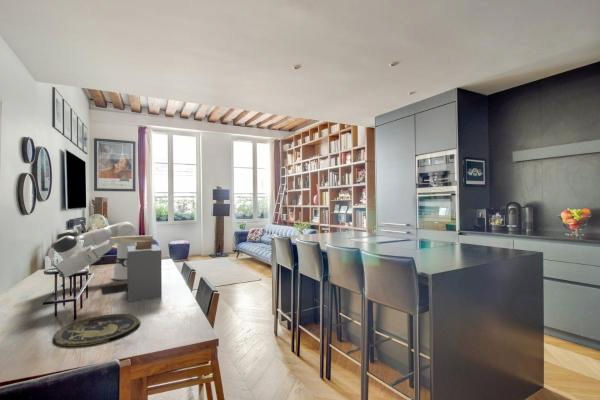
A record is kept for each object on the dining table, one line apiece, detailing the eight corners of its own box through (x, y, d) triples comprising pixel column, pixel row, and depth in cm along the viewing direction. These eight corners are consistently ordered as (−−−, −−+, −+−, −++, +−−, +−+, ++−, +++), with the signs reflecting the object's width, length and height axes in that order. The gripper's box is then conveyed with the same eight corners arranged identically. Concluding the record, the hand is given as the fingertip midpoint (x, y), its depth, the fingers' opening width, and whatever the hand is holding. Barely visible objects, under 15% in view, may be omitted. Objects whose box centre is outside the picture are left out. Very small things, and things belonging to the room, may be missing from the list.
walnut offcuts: (135, 248, 180) (135, 241, 180) (151, 246, 184) (151, 240, 184) (135, 249, 175) (135, 242, 175) (152, 248, 179) (152, 241, 179)
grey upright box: (127, 289, 187) (127, 246, 188) (156, 285, 195) (156, 244, 196) (128, 302, 163) (128, 252, 163) (161, 297, 171) (161, 250, 171)
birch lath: (111, 242, 167) (111, 237, 167) (152, 240, 177) (152, 235, 177) (110, 243, 164) (110, 237, 164) (152, 241, 174) (152, 235, 174)
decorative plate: (71, 317, 137) (146, 310, 146) (72, 322, 137) (146, 314, 146) (36, 349, 109) (131, 337, 117) (36, 354, 109) (131, 342, 117)
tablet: (148, 280, 209) (153, 286, 192) (148, 281, 209) (153, 287, 192) (100, 287, 193) (102, 294, 177) (100, 288, 193) (102, 295, 177)
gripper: (97, 255, 171) (122, 241, 177) (94, 261, 153) (122, 246, 159) (90, 246, 170) (115, 232, 176) (87, 251, 152) (115, 235, 158)
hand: (119, 239), depth 167 cm, fingers closed on birch lath, 4 cm apart
